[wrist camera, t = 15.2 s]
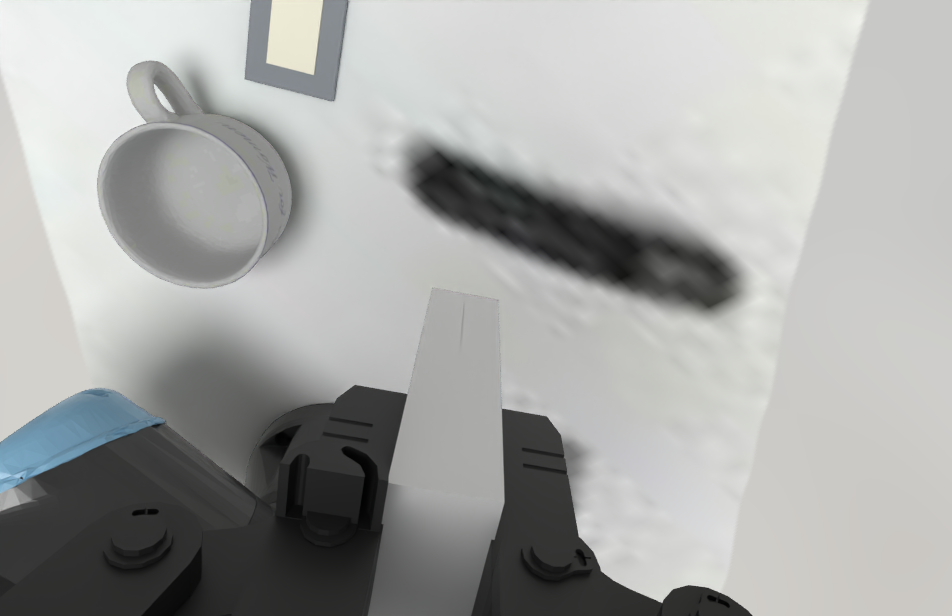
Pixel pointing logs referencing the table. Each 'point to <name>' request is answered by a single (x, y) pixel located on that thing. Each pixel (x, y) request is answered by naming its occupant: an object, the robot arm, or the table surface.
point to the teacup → (191, 187)
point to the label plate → (296, 45)
